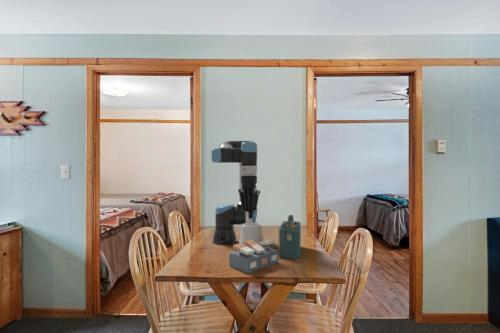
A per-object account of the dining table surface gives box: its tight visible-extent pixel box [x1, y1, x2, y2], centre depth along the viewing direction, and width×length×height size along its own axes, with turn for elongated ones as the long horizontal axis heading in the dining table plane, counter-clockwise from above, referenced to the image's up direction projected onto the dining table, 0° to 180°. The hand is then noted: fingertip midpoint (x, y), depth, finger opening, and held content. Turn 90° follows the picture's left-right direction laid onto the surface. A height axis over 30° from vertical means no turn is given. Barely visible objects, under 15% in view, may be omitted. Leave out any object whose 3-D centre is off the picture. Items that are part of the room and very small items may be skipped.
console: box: [228, 244, 279, 274], centre depth 130 cm, size 13×21×8 cm, turn 134°
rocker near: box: [232, 242, 255, 255], centre depth 125 cm, size 10×5×2 cm, turn 44°
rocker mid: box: [244, 240, 265, 254], centre depth 130 cm, size 10×5×2 cm, turn 44°
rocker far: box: [257, 239, 274, 247], centre depth 135 cm, size 10×5×2 cm, turn 44°
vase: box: [238, 222, 265, 247], centre depth 151 cm, size 14×14×15 cm
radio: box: [278, 214, 302, 260], centre depth 150 cm, size 26×11×20 cm, turn 168°
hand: (248, 225), depth 126 cm, fingers closed
